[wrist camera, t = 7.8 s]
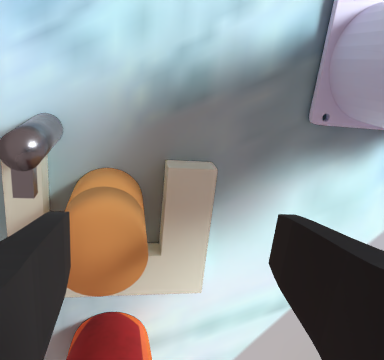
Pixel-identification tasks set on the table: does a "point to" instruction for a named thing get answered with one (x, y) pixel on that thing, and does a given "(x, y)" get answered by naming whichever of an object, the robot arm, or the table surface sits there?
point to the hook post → (29, 151)
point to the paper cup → (110, 339)
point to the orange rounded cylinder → (106, 233)
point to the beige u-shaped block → (169, 229)
